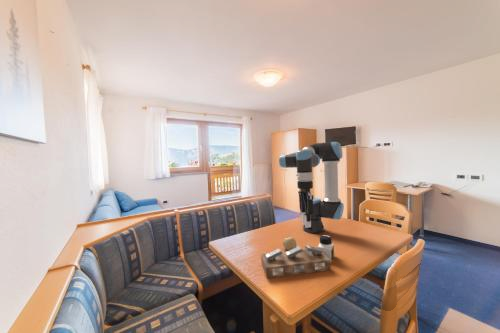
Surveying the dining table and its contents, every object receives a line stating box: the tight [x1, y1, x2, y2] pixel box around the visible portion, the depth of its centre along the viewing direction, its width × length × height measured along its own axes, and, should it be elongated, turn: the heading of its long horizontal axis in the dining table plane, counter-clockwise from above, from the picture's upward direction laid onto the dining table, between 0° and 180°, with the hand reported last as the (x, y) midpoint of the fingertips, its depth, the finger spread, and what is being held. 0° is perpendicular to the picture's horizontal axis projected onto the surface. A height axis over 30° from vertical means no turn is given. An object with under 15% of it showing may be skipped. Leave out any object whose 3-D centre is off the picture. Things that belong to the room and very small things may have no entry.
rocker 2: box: [285, 245, 303, 258], centre depth 100 cm, size 8×3×2 cm, turn 97°
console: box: [260, 248, 331, 279], centre depth 101 cm, size 32×13×6 cm, turn 97°
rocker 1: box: [265, 248, 283, 261], centre depth 99 cm, size 8×3×2 cm, turn 97°
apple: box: [282, 236, 297, 251], centre depth 120 cm, size 8×8×8 cm
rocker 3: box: [304, 244, 322, 254], centre depth 102 cm, size 8×3×2 cm, turn 98°
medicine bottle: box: [317, 234, 335, 263], centre depth 108 cm, size 7×7×12 cm
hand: (306, 225), depth 101 cm, fingers open, 3 cm apart
